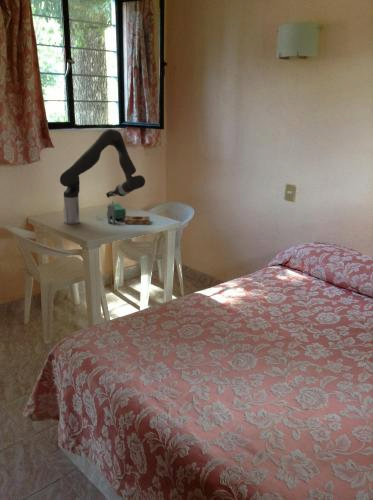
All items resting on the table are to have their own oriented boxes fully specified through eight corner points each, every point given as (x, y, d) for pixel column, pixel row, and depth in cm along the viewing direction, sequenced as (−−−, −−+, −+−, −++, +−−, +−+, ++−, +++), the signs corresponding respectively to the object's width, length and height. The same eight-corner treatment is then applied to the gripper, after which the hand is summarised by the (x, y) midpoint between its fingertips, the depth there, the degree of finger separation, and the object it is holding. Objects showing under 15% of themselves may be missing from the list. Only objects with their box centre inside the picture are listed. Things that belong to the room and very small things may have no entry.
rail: (124, 224, 284) (124, 219, 283) (126, 220, 294) (125, 216, 293) (149, 224, 285) (149, 220, 284) (149, 220, 294) (149, 216, 294)
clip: (114, 223, 285) (113, 205, 281) (108, 223, 284) (107, 205, 281) (114, 222, 288) (114, 204, 285) (108, 221, 288) (108, 204, 284)
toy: (119, 198, 317) (128, 206, 290) (119, 211, 319) (128, 220, 293) (103, 199, 313) (110, 207, 286) (103, 212, 315) (111, 221, 289)
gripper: (132, 180, 267) (121, 186, 281) (111, 185, 259) (101, 191, 273) (135, 192, 268) (124, 197, 281) (115, 197, 260) (105, 202, 273)
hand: (113, 194), depth 277 cm, fingers open, 8 cm apart
